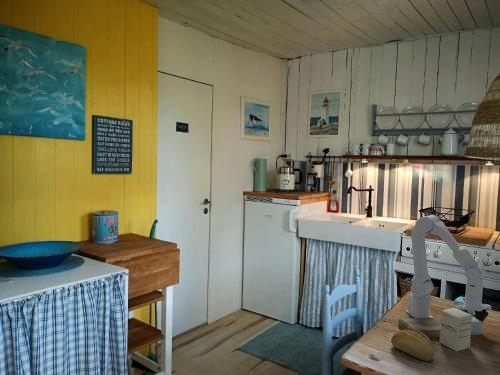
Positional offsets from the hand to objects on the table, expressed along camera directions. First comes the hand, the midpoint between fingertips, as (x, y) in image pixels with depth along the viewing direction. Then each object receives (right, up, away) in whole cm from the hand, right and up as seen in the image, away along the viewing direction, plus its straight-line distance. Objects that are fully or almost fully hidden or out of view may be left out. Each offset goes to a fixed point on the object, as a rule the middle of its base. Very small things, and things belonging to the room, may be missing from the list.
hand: (471, 328), depth 156 cm
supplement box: (-13, -2, -12) cm, 18 cm away
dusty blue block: (0, -1, 0) cm, 1 cm away
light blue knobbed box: (+6, 0, +17) cm, 18 cm away
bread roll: (-31, -3, -18) cm, 36 cm away
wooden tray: (-19, -1, 0) cm, 19 cm away
